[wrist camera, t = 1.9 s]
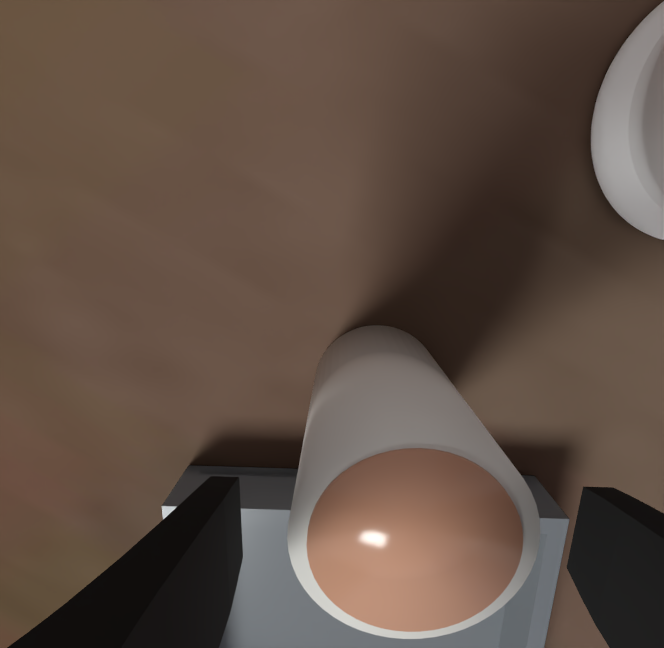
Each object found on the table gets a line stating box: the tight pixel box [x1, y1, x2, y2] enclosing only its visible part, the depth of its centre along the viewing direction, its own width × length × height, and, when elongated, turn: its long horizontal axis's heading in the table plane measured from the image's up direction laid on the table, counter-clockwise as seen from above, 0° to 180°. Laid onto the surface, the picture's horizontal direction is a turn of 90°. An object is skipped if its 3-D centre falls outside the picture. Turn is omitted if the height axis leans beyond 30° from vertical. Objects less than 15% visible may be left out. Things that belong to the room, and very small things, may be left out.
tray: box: [162, 465, 569, 648], centre depth 16 cm, size 15×13×2 cm
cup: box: [287, 325, 540, 639], centre depth 11 cm, size 5×5×8 cm
